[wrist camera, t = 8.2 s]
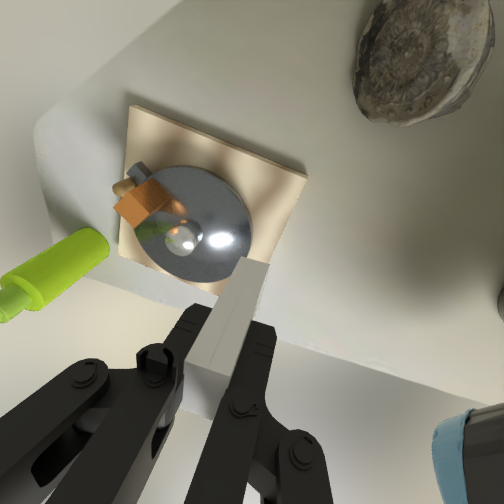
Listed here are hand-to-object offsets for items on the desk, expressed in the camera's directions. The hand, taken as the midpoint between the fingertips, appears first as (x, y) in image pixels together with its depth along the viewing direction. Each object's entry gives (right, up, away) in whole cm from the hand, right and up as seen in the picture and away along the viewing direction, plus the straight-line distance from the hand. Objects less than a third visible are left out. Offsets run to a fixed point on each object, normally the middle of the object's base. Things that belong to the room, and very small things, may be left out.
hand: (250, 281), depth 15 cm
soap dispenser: (-26, +3, +31) cm, 41 cm away
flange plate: (-8, +6, +22) cm, 24 cm away
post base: (-7, +6, +25) cm, 26 cm away
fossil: (+15, +20, +12) cm, 27 cm away
